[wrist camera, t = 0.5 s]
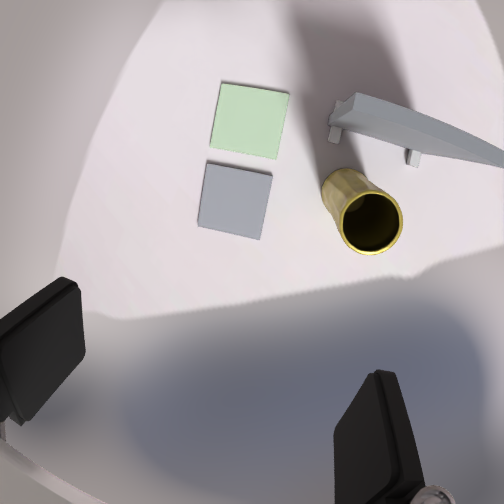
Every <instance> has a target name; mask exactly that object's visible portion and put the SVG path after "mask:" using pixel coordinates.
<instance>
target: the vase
mask: <svg viewBox="0 0 504 504" xmlns="http://www.w3.org/2000/svg"><path fill="white" fill-rule="evenodd" d="M322 201H323V203H324V205H325V207H326V208H327V210H328V211H329V213H331V215H332V217H333V219H334V221H335V223H336V226H337V229H338V231H339V233H340V235H341V237H342V239H343V241H344V242H345V244H346V245H347V246H348V247H349V248H351V249H352V250H354V251H355V252H357V253H360V254H363V255H376V254H379V253H383V252H384V251H386V250H388V249H389V248H391V247H392V246H393V245H394V244H395V243H396V241H397V240H398V238H399V236H400V234H401V232H402V228H403V216H402V212H401V209H400V207H399V205H398V203H397V202H396V200H395V199H394V198H393V197H391V196H390V195H389V194H387V193H386V192H385V191H383V190H382V189H380V188H378V187H377V186H375V185H374V184H373V183H371V182H370V181H369V180H368V179H367V178H366V177H365V176H364V175H363V174H362V173H360V172H358V171H356V170H353V169H348V168H345V169H339V170H336V171H334V172H333V173H332V174H331V175H329V176H328V177H327V179H326V180H325V182H324V184H323V187H322Z"/></svg>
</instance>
